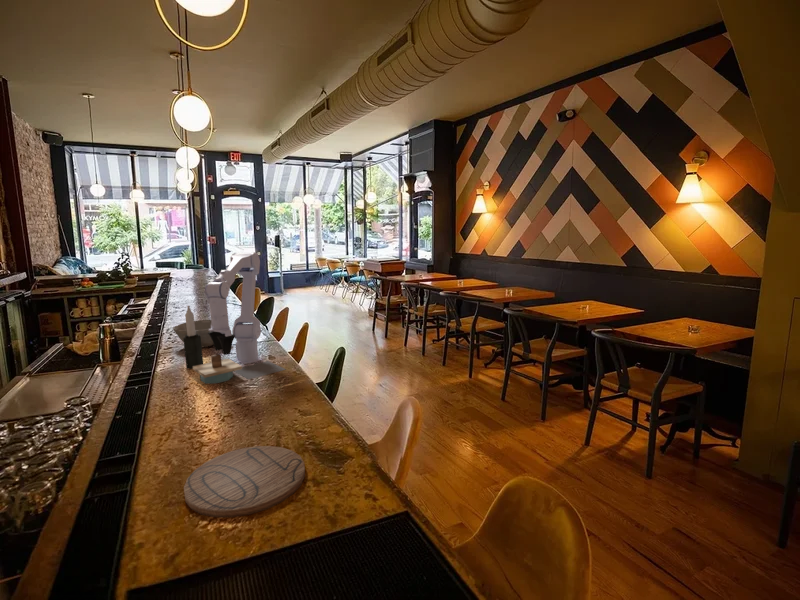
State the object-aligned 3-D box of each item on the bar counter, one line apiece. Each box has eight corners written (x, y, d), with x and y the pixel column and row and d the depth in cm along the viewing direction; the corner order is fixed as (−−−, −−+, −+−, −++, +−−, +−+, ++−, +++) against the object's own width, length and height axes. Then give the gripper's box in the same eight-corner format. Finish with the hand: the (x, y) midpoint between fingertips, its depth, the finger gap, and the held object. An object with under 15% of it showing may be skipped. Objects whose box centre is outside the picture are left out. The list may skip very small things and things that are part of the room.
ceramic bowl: (175, 343, 215) (173, 323, 213) (227, 337, 224) (225, 317, 223) (174, 355, 195) (171, 333, 193) (231, 348, 205) (228, 326, 203)
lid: (192, 369, 164) (191, 355, 163) (228, 361, 172) (227, 348, 171) (204, 377, 154) (203, 363, 153) (242, 368, 162) (240, 355, 161)
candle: (204, 366, 180) (198, 304, 175) (197, 370, 175) (191, 306, 170) (192, 366, 180) (185, 304, 176) (185, 370, 175) (178, 306, 171)
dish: (198, 380, 164) (196, 369, 163) (225, 373, 170) (224, 363, 170) (208, 387, 156) (207, 376, 156) (236, 379, 163) (235, 369, 162)
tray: (231, 371, 172) (231, 369, 172) (268, 362, 182) (267, 360, 182) (248, 380, 161) (248, 379, 161) (286, 370, 171) (286, 369, 171)
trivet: (263, 443, 117) (262, 436, 116) (328, 475, 101) (328, 468, 101) (163, 488, 98) (162, 480, 97) (224, 537, 82) (223, 528, 82)
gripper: (200, 314, 164) (204, 350, 166) (215, 320, 153) (219, 358, 156) (220, 311, 169) (223, 346, 171) (235, 316, 158) (239, 354, 160)
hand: (222, 352), depth 164 cm, fingers open, 7 cm apart
